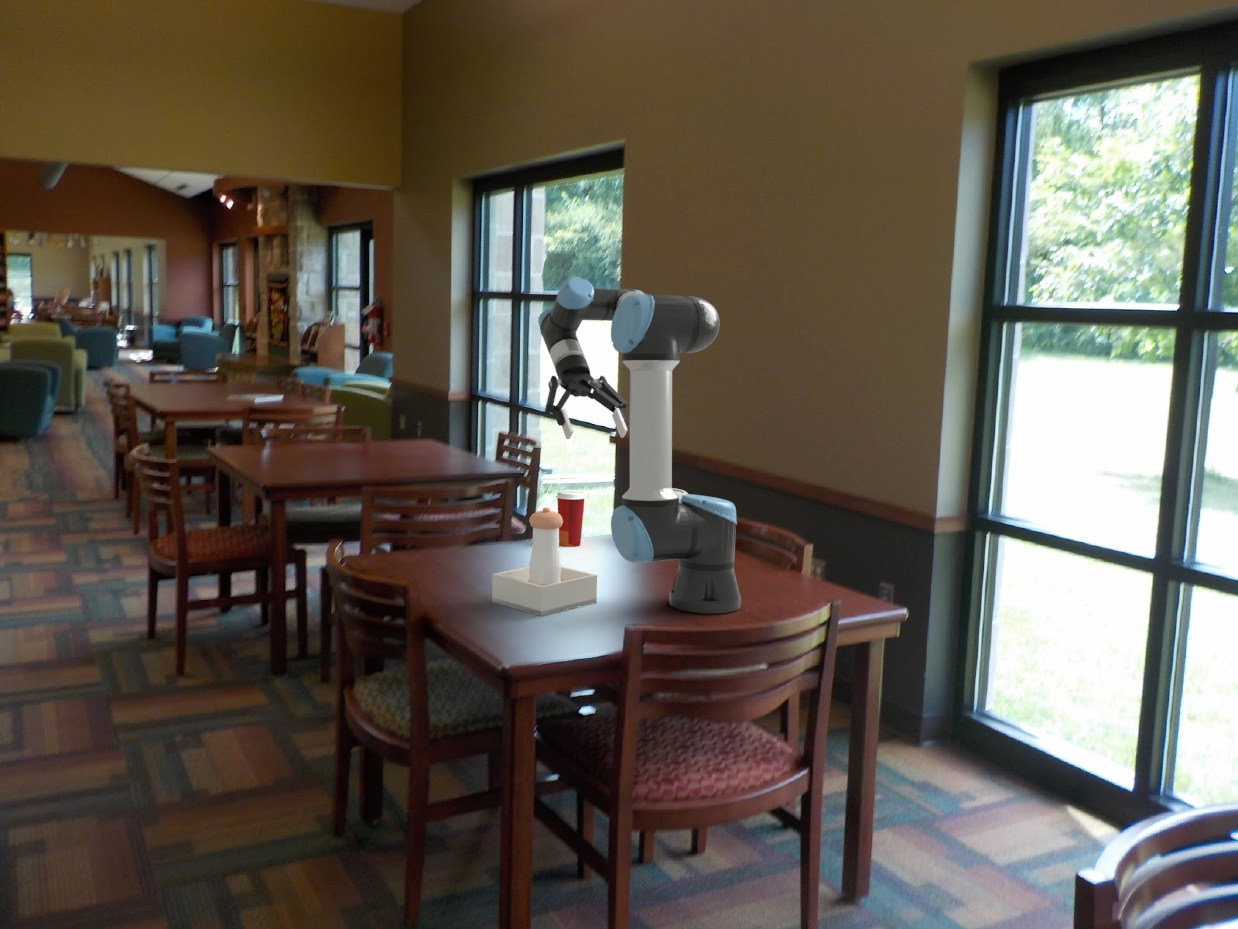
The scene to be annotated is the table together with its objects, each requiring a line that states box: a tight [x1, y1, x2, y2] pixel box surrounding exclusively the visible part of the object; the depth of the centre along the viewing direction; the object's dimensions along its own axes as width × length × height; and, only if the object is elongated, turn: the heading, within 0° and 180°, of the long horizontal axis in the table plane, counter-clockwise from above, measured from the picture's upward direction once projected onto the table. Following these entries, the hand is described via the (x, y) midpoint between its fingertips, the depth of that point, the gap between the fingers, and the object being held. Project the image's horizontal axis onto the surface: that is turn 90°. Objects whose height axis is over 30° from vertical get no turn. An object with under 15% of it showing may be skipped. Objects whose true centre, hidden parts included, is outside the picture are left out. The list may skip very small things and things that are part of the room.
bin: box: [491, 565, 598, 617], centre depth 238 cm, size 15×16×6 cm
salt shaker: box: [528, 507, 563, 586], centre depth 237 cm, size 7×7×19 cm
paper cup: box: [555, 489, 586, 548], centre depth 297 cm, size 8×8×14 cm
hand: (597, 434), depth 253 cm, fingers open, 13 cm apart
